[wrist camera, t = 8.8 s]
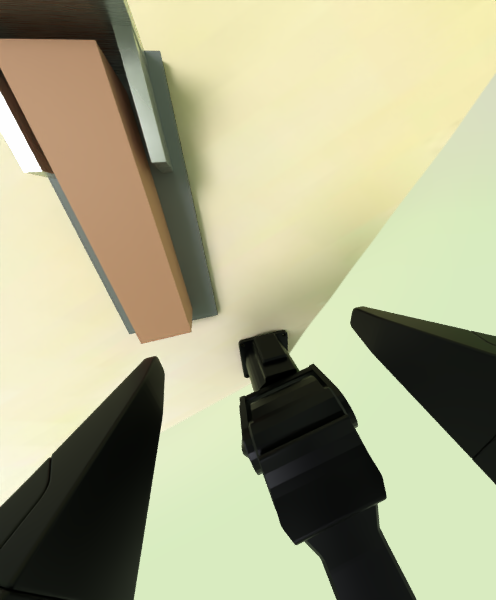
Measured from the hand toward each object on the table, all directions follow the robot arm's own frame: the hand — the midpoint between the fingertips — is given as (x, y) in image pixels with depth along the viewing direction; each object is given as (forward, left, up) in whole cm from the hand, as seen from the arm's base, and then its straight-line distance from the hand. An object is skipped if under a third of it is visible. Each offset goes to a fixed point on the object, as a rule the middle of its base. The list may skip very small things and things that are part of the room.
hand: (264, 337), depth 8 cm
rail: (+4, +6, -11) cm, 14 cm away
